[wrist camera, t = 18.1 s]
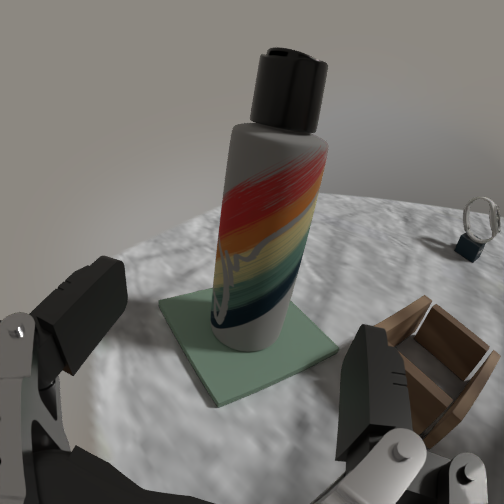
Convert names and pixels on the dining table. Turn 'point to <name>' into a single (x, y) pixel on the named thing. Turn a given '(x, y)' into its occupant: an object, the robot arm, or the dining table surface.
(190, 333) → the sage mat
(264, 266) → the lotion bottle
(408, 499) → the robot arm
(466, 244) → the watch
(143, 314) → the dining table surface
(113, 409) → the dining table surface
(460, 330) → the walnut holder
